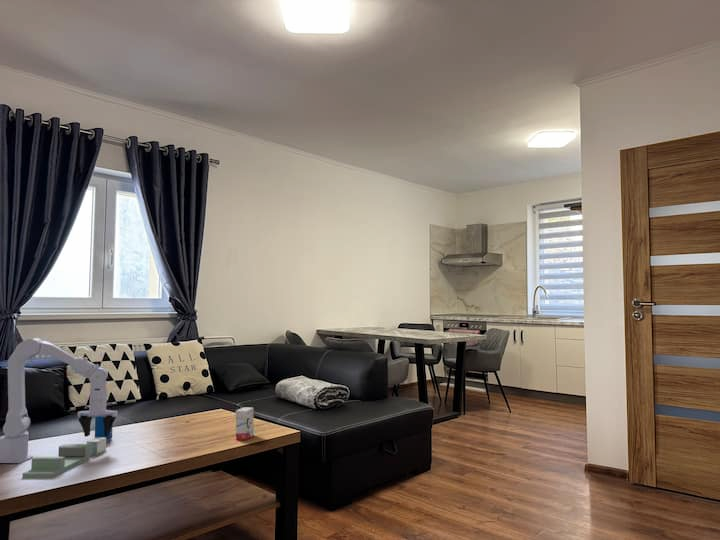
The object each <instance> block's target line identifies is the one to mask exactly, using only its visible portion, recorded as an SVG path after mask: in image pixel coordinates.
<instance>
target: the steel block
mask: <svg viewBox="0 0 720 540" xmlns="http://www.w3.org/2000/svg"><path fill="white" fill-rule="evenodd" d="M86 444H91V453H90V454H89V456H98V455H100V454H102V453H104V452H106V451H107V442H106V438H95V437H94V438H92V439H90V440H87V441H86Z"/></svg>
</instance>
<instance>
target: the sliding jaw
mask: <svg viewBox="0 0 720 540" xmlns="http://www.w3.org/2000/svg"><path fill="white" fill-rule="evenodd" d="M57 453H58V456H57V457H59V456H87V455H89V454H90V453H91V444H87V443H78V444H77V443H69V444H68V443H64V444H61V445H59V446H58V452H57ZM89 456H90V455H89Z"/></svg>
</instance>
